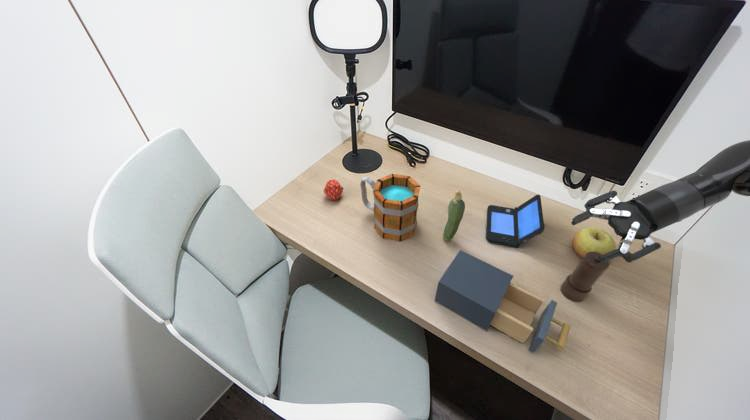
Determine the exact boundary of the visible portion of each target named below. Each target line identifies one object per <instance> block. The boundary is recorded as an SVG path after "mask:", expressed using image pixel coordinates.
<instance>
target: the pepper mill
mask: <svg viewBox="0 0 750 420" xmlns="http://www.w3.org/2000/svg"><path fill="white" fill-rule="evenodd" d="M601 255H602V254H600V253H598V252H588V253H587V254H586V255H585V256H584V258H583V259H582V258H581V260H580V262H579V263H578V264H577V266H575V269H574V270H573V271H572V272H571V273H569V274H568V275H567V277H566V278H565V279H564V280H563V282H562V283H561V285H560V292H561V294H562V295H563V297H565V298H566V299H567V300H569V301H571V302H574V303H579V302H582V301H584V300H585V298H586V297H587V296H588V295H589V294H590V293H591V291H592V289H593V286H594V285H595V283H597V281H598V280H599V279H600V277H601V276H602V275H603V274H604V273H605V271H607V270H608V268H609V267H610V265H611V264H610V260H609V261H607V262H602V260H600V261H598V260H597V257H599V256H601Z"/></svg>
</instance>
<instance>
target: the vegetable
mask: <svg viewBox="0 0 750 420" xmlns="http://www.w3.org/2000/svg"><path fill="white" fill-rule="evenodd" d="M465 210H466V204H465V201H464V200H463V196H462V192H461V191H460V190H459V189H457V190H456V192H455V193H454V198H452V199H451V200H450V201H449V202H448V206H447V221H446V223H445V225H444V230H443V233H442V239H443V240H444V241H446V242H451V240H453V239H454V237H455V236H456V234H457V232H458V230H459V226H460V224H461V222H462V219H463V217H464V214H465Z"/></svg>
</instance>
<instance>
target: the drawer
mask: <svg viewBox="0 0 750 420" xmlns="http://www.w3.org/2000/svg"><path fill="white" fill-rule="evenodd" d="M544 302H545V299H544V298H543V297H541V296H539V295H536V294H535V293H533V292H530V291H529V290H527V289H525V288H523V287H520V286H519V285H516V284H514V282H513V283H512V281H511V282H510V284H509V286H508V289H507V291H506V293H505V295H504V297H503V299H502V301H501V303H500V305H499V307H498V309H497V311H496V313H495V315H494V317H493V319H492V321H491V323H490V325H489V326H492V327H494V328H495V329H497V330H499V331H500V332H502V333H504V334H505V335H507V336H509V337H511V338H513V339H515V340H516V341H518V342H519V343H521V344H525V342H526V341H527V339H528V338H529V337H530V335H531V334H532V332H533V331H534V332H533V335H532V339H531V341H530V344H529V347H528V348H527V351H528V352H530V353H532V354H535V353H536V351H537V350H538V349H539V347H541V345H542V344H543V343H544V342H545V340H546V341H547V342H549V343H551V344H553V345H555V348H557V349H558V350H560V351H563V350H565V347H566V343H567V339H568V337H569V332H570V329H571V324H569V323H567V322H561V321H560V320H558V319H556V318H554V315H555V311H556V308H557V305H558V302H557V301H555V300H553V299H551V300H550V301H549V303H548V304H547V306H546V307H545V308H544V309H543V311H542V312H541V314H540V316H539V319H538V322H537V324H536V328H535V329H534V327H533V326H532V324H533V321H534V318H535V316H536V314H537V312H538V311H539V310H540V308H541V307H542V305H543V304H544ZM551 322H552V323H554V324H556V325H558V326H559V327H561V329H560V333H559V335H558V339H557V340H555V339H554V338H551V337H549V336H548V335H547V334H548V332H549V329H550V325H551Z"/></svg>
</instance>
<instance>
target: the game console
mask: <svg viewBox="0 0 750 420" xmlns="http://www.w3.org/2000/svg"><path fill="white" fill-rule="evenodd" d="M485 227H486V228H485V229H486V230H485V240H486V241H487V242H488V243H492V244H495V245H501V246H505V247H506V246H507V247H512V248H516V249H518V248H520V245H522V244H524V243H526V242H528V241H530V240H531V239H534V238H535V237H537V236H539V235H540V234H542V233H544V231H545V221H544V213H543V206H542V197H541V195H540V194H536V195H534V196H532V197H531V198H529V199H527V200H526V201H525V202H523V203H522V204H520V205H518V206H516V207H514V208H512V207H506V206H500V205H495V204H490V205H488V206H487V209H486V226H485Z"/></svg>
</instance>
